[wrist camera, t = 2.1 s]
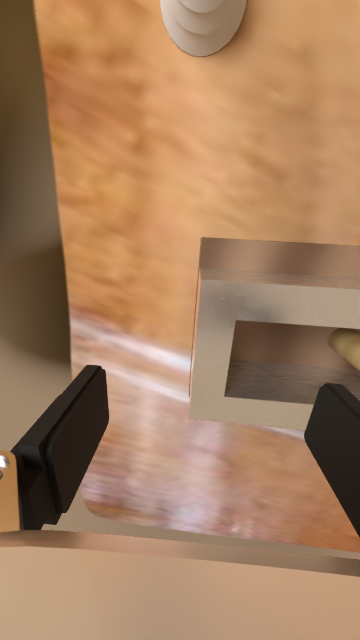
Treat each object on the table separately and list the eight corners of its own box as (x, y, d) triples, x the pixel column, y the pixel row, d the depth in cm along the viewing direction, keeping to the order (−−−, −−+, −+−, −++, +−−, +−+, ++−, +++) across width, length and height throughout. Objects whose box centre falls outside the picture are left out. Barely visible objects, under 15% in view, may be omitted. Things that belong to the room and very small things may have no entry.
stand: (385, 247, 16) (497, 252, 10) (333, 388, 21) (389, 449, 15) (201, 237, 17) (204, 236, 11) (189, 376, 22) (187, 429, 16)
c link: (395, 280, 14) (478, 297, 10) (350, 390, 17) (398, 438, 13) (199, 268, 15) (201, 279, 11) (190, 377, 18) (188, 418, 14)
